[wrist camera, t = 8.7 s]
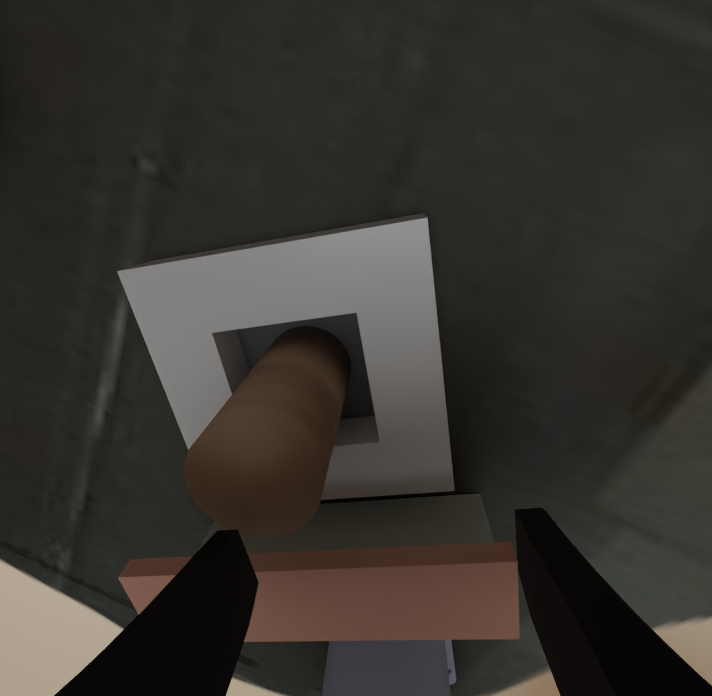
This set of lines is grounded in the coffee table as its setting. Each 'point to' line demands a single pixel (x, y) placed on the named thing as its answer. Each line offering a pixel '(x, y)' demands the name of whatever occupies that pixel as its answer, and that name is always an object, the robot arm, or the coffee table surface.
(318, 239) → the socket block
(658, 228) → the coffee table surface
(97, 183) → the coffee table surface
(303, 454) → the peg
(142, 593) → the pink slab
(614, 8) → the coffee table surface
